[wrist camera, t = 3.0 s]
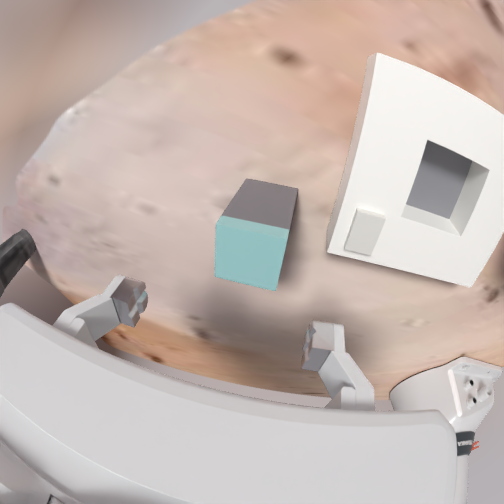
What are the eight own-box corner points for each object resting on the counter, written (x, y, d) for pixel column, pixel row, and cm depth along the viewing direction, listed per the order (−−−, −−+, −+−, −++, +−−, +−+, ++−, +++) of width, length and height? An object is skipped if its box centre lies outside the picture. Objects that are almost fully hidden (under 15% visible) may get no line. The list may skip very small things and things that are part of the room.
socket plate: (516, 131, 11) (542, 144, 8) (460, 266, 20) (472, 292, 17) (367, 56, 13) (379, 51, 10) (326, 230, 21) (327, 257, 19)
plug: (298, 188, 20) (287, 239, 15) (288, 232, 22) (275, 291, 17) (246, 178, 20) (216, 224, 15) (242, 222, 23) (214, 276, 17)
